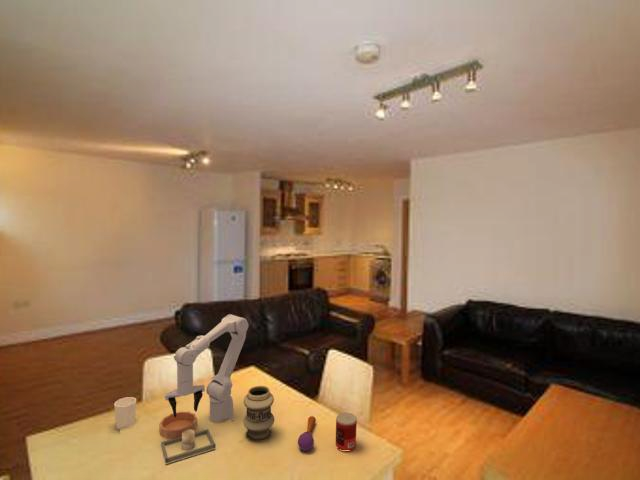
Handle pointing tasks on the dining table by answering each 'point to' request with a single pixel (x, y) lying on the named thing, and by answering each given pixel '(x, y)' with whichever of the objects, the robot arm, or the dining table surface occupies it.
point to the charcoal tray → (185, 454)
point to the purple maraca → (307, 436)
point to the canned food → (346, 431)
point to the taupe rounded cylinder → (188, 439)
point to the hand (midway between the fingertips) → (185, 413)
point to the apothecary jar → (258, 413)
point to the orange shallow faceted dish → (177, 424)
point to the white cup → (125, 412)
